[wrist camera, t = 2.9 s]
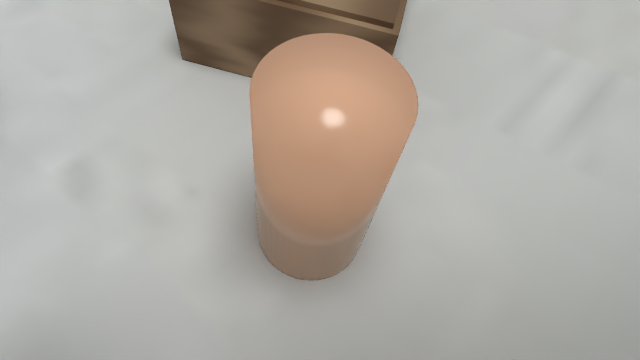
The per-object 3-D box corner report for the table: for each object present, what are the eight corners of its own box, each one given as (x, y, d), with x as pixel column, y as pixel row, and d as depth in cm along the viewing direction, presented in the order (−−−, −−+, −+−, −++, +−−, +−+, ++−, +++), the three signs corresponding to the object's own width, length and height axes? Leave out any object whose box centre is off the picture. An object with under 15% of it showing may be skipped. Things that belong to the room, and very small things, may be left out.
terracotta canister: (370, 199, 28) (428, 55, 18) (348, 293, 25) (404, 185, 15) (275, 174, 28) (278, 17, 18) (243, 263, 25) (224, 137, 15)
